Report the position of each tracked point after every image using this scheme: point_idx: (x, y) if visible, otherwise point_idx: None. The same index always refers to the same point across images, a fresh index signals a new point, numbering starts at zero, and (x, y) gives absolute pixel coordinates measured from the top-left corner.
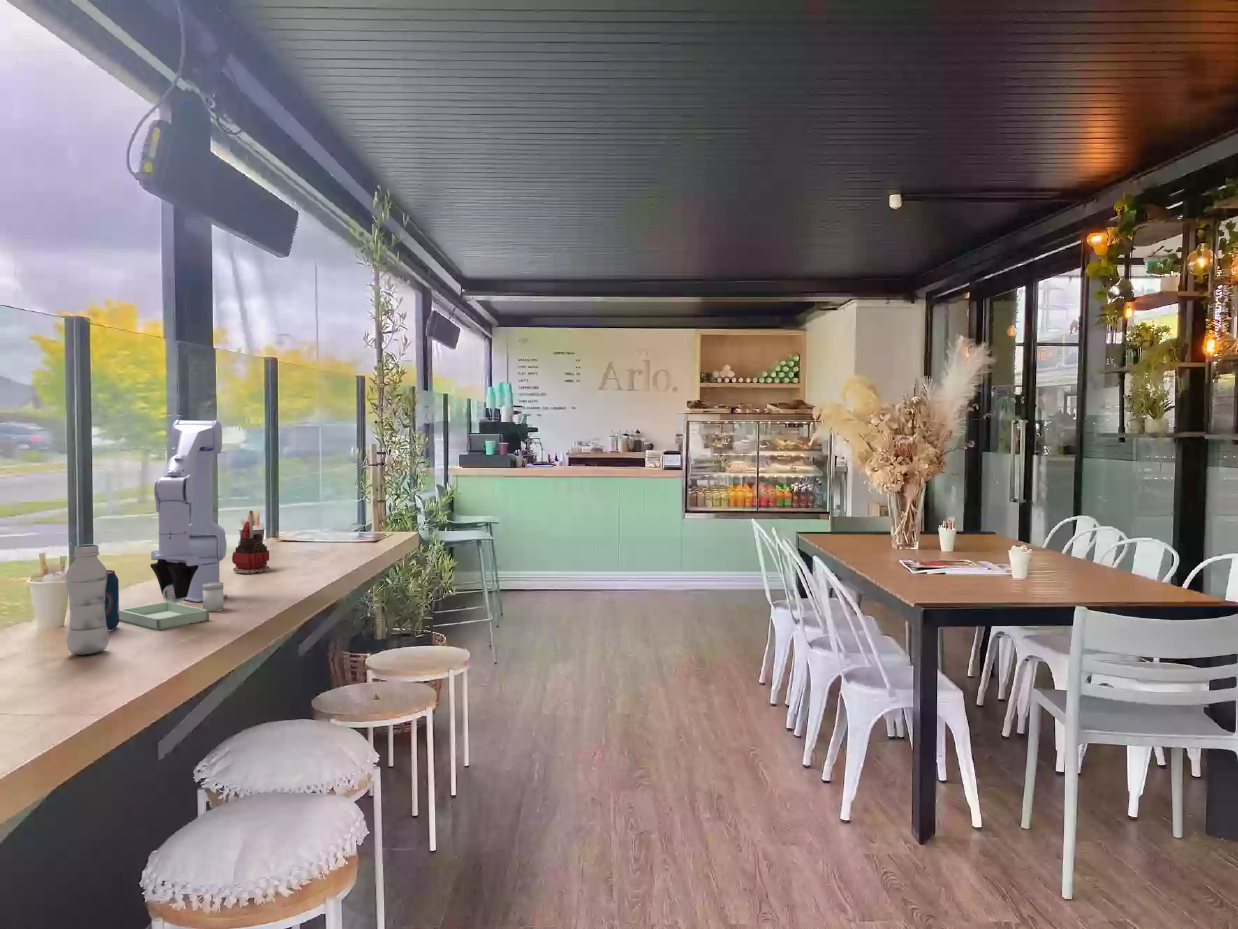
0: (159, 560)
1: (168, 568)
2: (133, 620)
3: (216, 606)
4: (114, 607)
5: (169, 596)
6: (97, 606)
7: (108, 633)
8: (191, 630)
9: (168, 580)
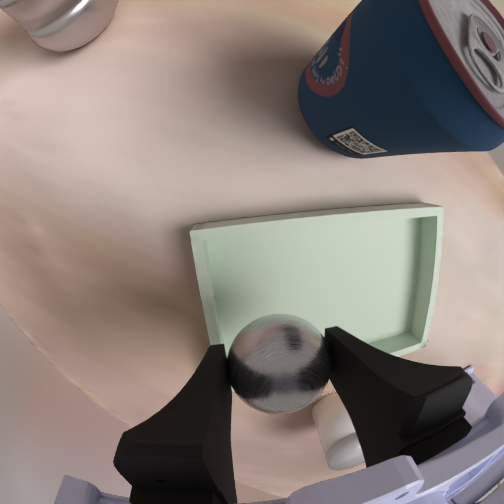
0: (453, 432)
1: (193, 442)
2: (353, 209)
3: (315, 418)
4: (330, 110)
5: (246, 330)
6: None
7: (39, 42)
8: (124, 293)
9: (351, 388)
